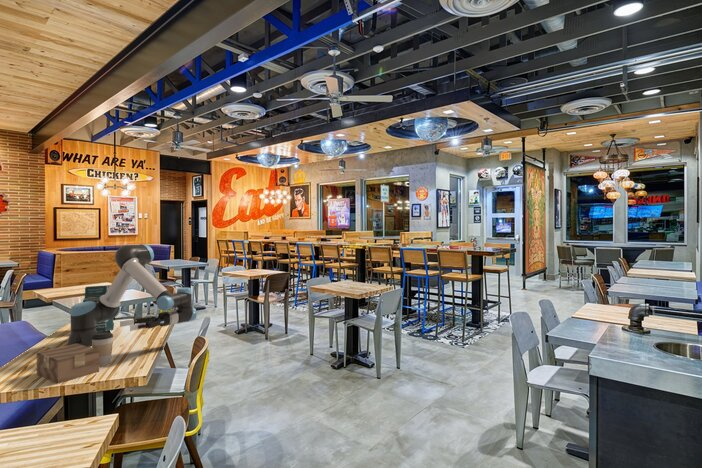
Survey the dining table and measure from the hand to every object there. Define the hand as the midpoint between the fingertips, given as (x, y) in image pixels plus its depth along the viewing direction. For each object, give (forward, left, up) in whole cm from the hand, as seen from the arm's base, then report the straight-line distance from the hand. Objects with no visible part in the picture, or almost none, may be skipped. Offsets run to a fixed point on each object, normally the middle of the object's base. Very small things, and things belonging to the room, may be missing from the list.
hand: (125, 326), depth 192 cm
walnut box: (-1, -25, -16) cm, 29 cm away
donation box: (-70, +22, -16) cm, 75 cm away
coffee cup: (-2, -10, -16) cm, 19 cm away
